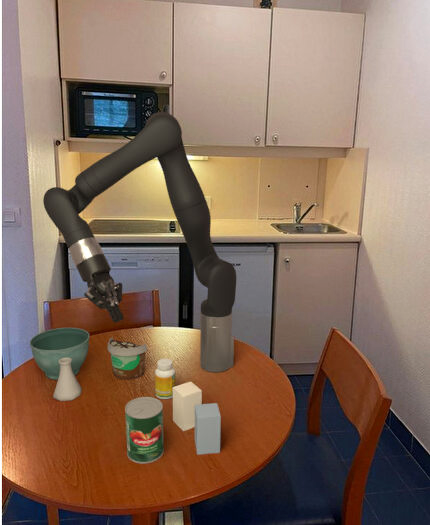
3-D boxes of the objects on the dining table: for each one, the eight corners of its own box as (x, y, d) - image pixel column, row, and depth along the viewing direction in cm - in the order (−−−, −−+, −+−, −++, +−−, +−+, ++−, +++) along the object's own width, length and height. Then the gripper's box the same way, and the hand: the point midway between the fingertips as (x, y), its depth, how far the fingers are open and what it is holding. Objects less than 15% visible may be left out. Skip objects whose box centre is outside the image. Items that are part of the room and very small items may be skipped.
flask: (73, 403, 115) (70, 368, 112) (47, 400, 116) (44, 364, 114) (86, 389, 122) (84, 355, 119) (62, 386, 123) (60, 352, 121)
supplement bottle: (156, 389, 122) (155, 357, 120) (176, 389, 122) (175, 357, 120) (154, 400, 117) (153, 366, 114) (175, 399, 117) (174, 366, 115)
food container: (99, 376, 128) (98, 344, 126) (112, 367, 134) (110, 336, 131) (136, 385, 124) (135, 352, 121) (148, 375, 129) (147, 343, 127)
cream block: (190, 414, 111) (190, 381, 109) (201, 424, 107) (201, 390, 105) (173, 420, 108) (172, 387, 106) (183, 431, 104) (183, 396, 102)
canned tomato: (150, 435, 102) (149, 392, 100) (171, 452, 97) (170, 407, 94) (119, 450, 97) (117, 405, 94) (139, 469, 92) (138, 422, 89)
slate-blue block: (216, 438, 102) (216, 403, 99) (219, 452, 97) (220, 416, 95) (194, 440, 101) (194, 404, 99) (197, 454, 96) (197, 417, 94)
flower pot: (26, 369, 132) (23, 335, 129) (80, 355, 141) (78, 323, 139) (42, 392, 119) (38, 355, 117) (99, 375, 129) (97, 341, 126)
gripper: (96, 264, 120) (124, 321, 118) (61, 268, 108) (91, 333, 106) (116, 250, 117) (144, 309, 115) (82, 254, 105) (113, 320, 103)
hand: (119, 321), depth 111 cm, fingers closed
